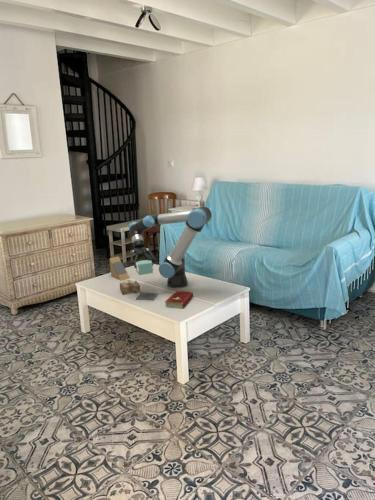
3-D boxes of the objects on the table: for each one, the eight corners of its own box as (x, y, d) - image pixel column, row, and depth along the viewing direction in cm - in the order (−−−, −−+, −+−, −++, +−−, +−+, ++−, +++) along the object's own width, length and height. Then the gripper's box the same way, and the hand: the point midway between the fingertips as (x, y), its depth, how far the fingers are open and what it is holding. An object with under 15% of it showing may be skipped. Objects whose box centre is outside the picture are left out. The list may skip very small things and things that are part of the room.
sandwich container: (121, 281, 304) (119, 262, 300) (110, 276, 315) (109, 258, 311) (130, 278, 309) (129, 259, 305) (120, 274, 320) (118, 256, 316)
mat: (157, 293, 274) (157, 293, 274) (153, 300, 263) (153, 299, 262) (140, 293, 276) (140, 292, 276) (135, 299, 265) (135, 298, 264)
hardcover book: (193, 297, 266) (193, 291, 265) (183, 309, 247) (182, 303, 246) (176, 295, 270) (176, 289, 269) (165, 307, 251) (164, 301, 250)
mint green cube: (149, 269, 271) (148, 259, 269) (152, 273, 263) (152, 262, 261) (136, 271, 268) (135, 261, 267) (139, 275, 260) (138, 264, 258)
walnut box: (136, 287, 288) (135, 277, 287) (140, 292, 278) (139, 282, 277) (120, 289, 284) (119, 280, 283) (123, 294, 274) (122, 284, 273)
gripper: (152, 243, 279) (160, 271, 269) (121, 247, 272) (128, 276, 262) (154, 237, 273) (162, 265, 263) (122, 241, 266) (129, 270, 256)
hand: (145, 271), depth 262 cm, fingers closed on mint green cube, 9 cm apart
